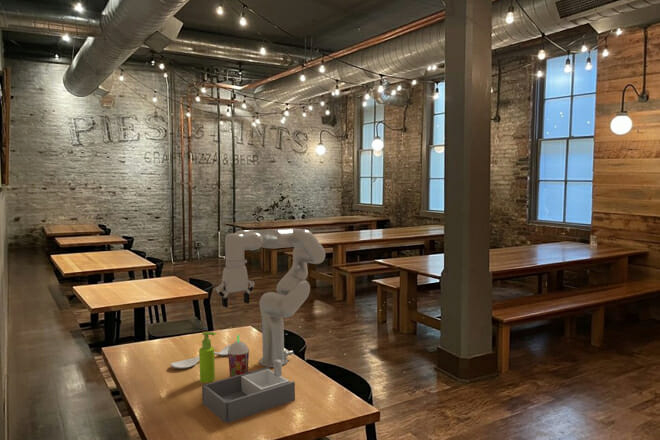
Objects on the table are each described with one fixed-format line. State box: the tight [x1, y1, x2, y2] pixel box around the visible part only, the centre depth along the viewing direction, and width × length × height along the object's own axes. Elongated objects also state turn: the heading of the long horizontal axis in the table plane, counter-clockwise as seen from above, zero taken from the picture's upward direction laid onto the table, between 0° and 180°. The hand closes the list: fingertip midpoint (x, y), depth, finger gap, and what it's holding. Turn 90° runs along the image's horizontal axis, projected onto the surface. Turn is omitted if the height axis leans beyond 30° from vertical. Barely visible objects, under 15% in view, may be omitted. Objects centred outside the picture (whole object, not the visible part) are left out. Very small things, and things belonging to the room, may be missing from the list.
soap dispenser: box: [198, 331, 217, 384], centre depth 205 cm, size 6×7×20 cm
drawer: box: [241, 360, 290, 395], centre depth 190 cm, size 13×15×11 cm
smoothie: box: [227, 334, 250, 378], centre depth 201 cm, size 8×8×20 cm
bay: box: [201, 367, 296, 424], centre depth 185 cm, size 28×19×7 cm
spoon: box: [170, 344, 231, 370], centre depth 227 cm, size 9×32×4 cm, turn 134°
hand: (236, 304), depth 207 cm, fingers open, 9 cm apart
